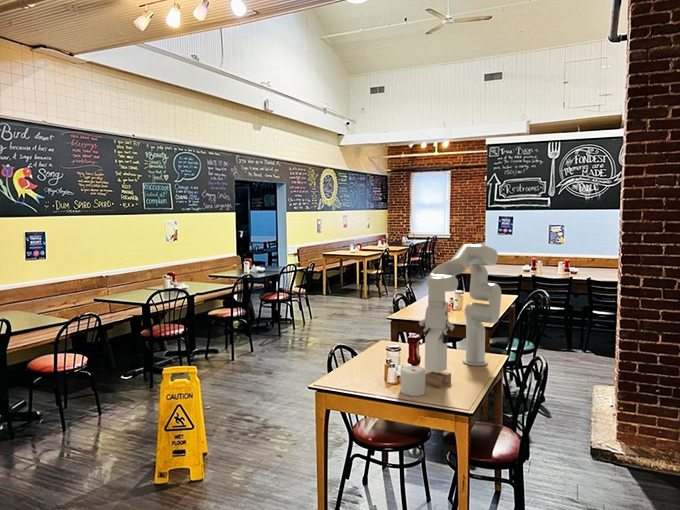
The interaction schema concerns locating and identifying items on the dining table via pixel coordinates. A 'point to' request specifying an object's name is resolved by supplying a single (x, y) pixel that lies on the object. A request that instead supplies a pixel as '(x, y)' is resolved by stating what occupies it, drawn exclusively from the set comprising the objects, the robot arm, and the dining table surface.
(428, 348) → the milk carton
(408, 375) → the toilet tissue
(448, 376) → the walnut block
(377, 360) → the dining table surface
